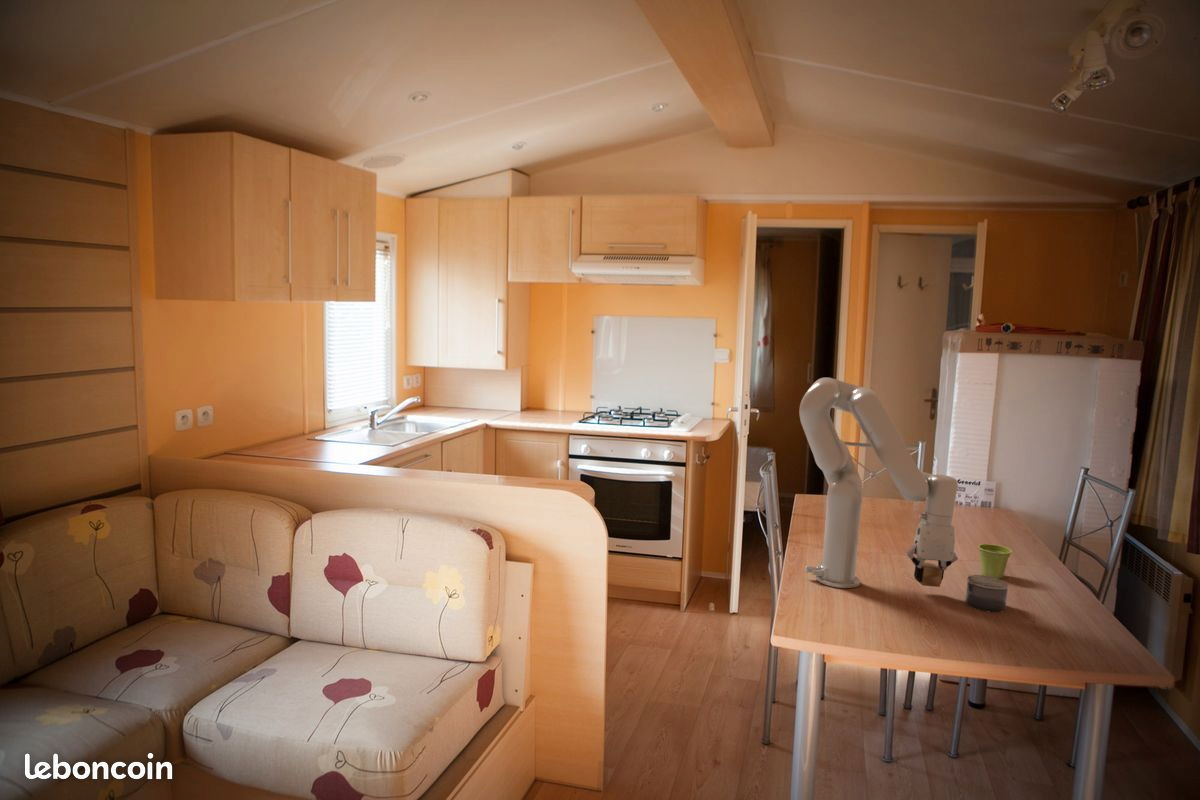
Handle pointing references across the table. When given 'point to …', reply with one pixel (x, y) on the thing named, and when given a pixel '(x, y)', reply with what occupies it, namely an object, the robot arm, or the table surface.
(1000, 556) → the plant pot
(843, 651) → the table surface
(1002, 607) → the black tin
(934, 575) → the walnut block
